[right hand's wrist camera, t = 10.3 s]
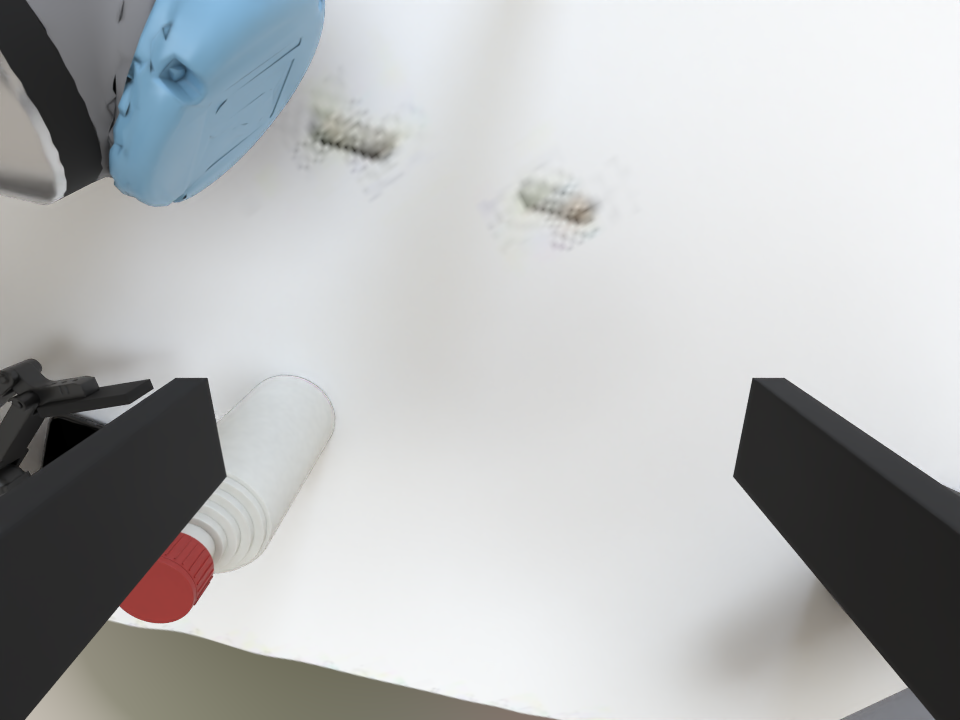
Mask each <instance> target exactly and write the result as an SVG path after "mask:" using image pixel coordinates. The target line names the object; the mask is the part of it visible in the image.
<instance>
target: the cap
mask: <svg viewBox="0 0 960 720" xmlns="http://www.w3.org/2000/svg"><path fill="white" fill-rule="evenodd" d="M213 572H214V563H213V559H212V556H211V554H210V553H209V551H208V550H207V548H206V547H205V546H204V545H203V544H202V543H201V542H199V541H198V540H197V539H195V538H193V537H192V536H190V535H187V534H185V533H182V532H180V534H179V535H178V536H177V537H176V538H175V540H174V541H173V542H172V543H171V544H170V546H169V547H168V548H167V549H166V550H165V552H164V553H163V554H162V555H161V556H160V558H159V559H158V560H157V561H156V562H155V564H154V565H153V566H152V567H151V568H150V570H149V571H148V572H147V573H146V574H145V576H144V577H143V578H142V579H141V580H140V582H139V583H138V584H137V585H136V587H135V588H134V589H133V590H132V591H131V593H130V594H129V595H128V596H127V597H126V599H125V600H124V601H123V602H122V603H121V605H120V607H121V608H122V609H123V610H124V611H126V612H127V613H128V614H130V615H132V616H134V617H135V618H138V619H140V620H143V621H146V622H151V623H169V622H173V621H176V620H179V619H181V618H182V617H184V616H185V615H186V614H187V613H188V612H189V611H190V610H191V608H192V607H193V605H195V604H196V603H197V601H198V600H199V598H200V597H201V595H202V594H203V592H204V591H205V589H206V588H207V586H208V585H209V583H210V581H211V579H212V578H213Z"/></svg>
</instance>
